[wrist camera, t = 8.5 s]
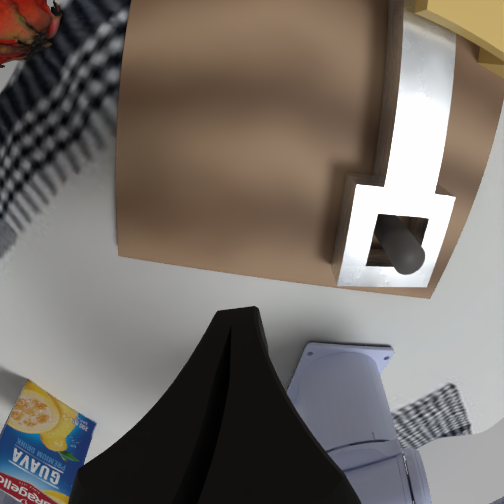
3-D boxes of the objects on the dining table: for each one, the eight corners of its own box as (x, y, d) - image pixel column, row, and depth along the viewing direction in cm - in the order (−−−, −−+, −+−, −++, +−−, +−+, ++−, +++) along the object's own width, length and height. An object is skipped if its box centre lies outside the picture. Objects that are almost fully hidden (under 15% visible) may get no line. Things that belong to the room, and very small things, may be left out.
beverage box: (81, 432, 37) (46, 555, 18) (19, 392, 34) (-31, 515, 15) (97, 423, 35) (59, 564, 16) (27, 378, 31) (-31, 520, 12)
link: (415, 269, 20) (426, 287, 18) (330, 266, 20) (337, 286, 18) (459, 9, 11) (478, 5, 9) (361, -22, 11) (373, -33, 9)
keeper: (504, 78, 13) (551, 89, 9) (388, 21, 12) (426, 9, 8) (509, 38, 11) (556, 42, 7) (394, -24, 11) (432, -45, 7)
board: (424, 290, 22) (450, 336, 18) (123, 248, 21) (94, 293, 16) (504, 34, 12) (555, 37, 8) (152, -59, 10) (119, -92, 6)
